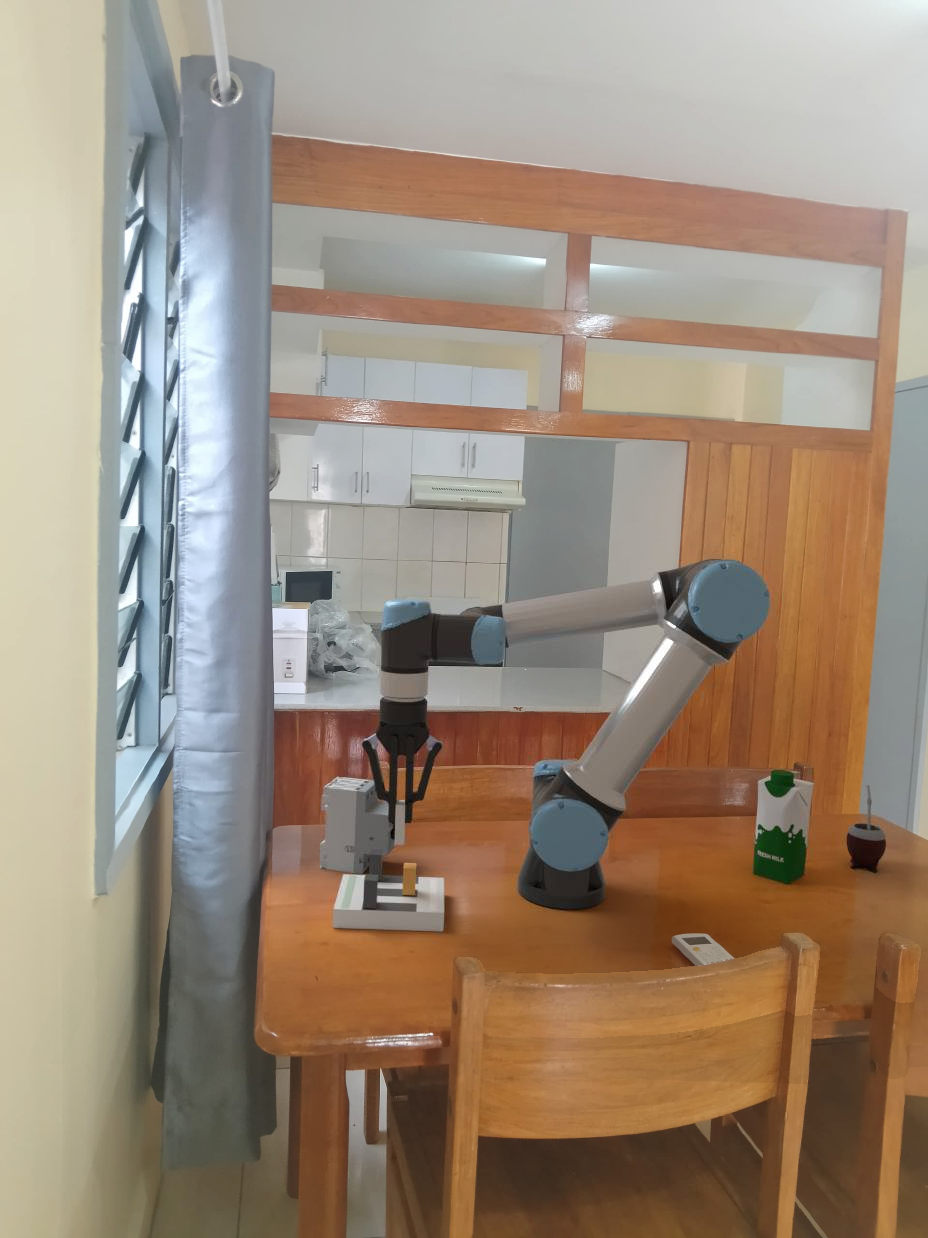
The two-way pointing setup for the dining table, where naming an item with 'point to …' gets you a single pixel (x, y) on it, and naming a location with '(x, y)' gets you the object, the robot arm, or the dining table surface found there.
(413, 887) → the block
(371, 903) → the block
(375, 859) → the block
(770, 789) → the milk carton
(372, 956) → the dining table surface
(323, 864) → the circuit breaker
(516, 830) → the dining table surface
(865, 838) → the mate gourd
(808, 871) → the dining table surface
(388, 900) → the panel
